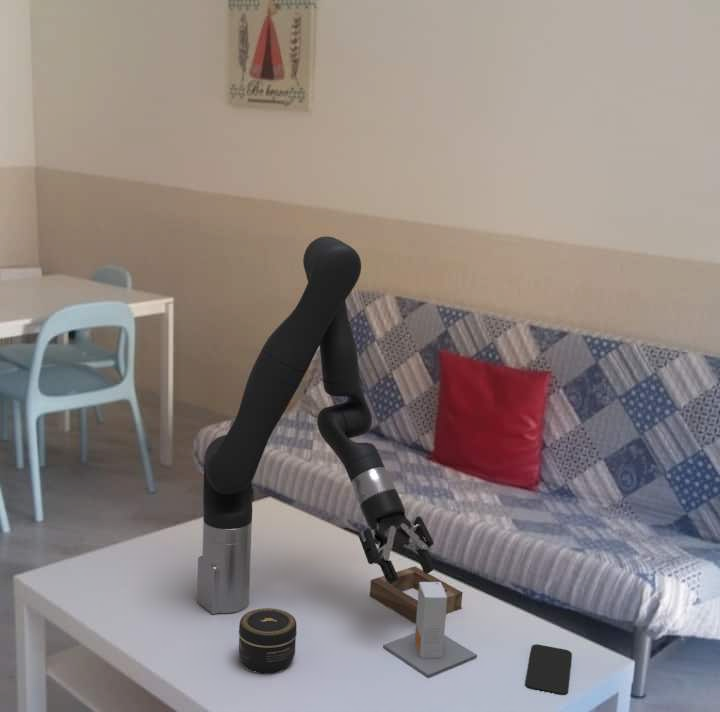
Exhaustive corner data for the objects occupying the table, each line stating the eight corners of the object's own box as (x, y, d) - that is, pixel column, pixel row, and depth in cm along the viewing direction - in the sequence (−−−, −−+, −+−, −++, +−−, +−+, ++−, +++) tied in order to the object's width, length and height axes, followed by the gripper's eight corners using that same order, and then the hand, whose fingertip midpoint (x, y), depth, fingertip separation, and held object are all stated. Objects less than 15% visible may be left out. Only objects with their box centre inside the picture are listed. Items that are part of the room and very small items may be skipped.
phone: (524, 685, 165) (531, 643, 180) (523, 690, 166) (531, 647, 180) (568, 694, 164) (572, 650, 178) (567, 698, 164) (571, 654, 178)
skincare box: (413, 641, 177) (418, 581, 175) (436, 641, 178) (441, 581, 175) (419, 658, 171) (424, 596, 169) (442, 658, 172) (448, 596, 169)
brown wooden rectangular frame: (416, 624, 185) (417, 607, 184) (369, 595, 195) (370, 579, 194) (461, 608, 192) (462, 592, 191) (413, 581, 203) (414, 566, 202)
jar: (228, 653, 171) (230, 613, 169) (279, 641, 176) (281, 602, 174) (252, 681, 162) (253, 640, 161) (305, 668, 167) (307, 627, 166)
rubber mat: (428, 677, 167) (428, 674, 166) (383, 647, 176) (383, 644, 175) (476, 657, 174) (477, 654, 174) (431, 629, 183) (431, 626, 183)
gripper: (357, 494, 175) (393, 577, 169) (416, 482, 184) (452, 560, 177) (337, 511, 180) (371, 593, 174) (395, 499, 189) (430, 576, 183)
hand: (412, 576), depth 176 cm, fingers open, 8 cm apart
